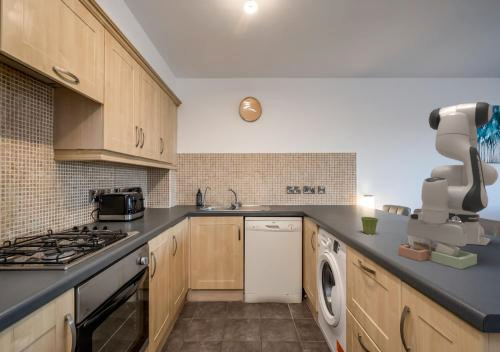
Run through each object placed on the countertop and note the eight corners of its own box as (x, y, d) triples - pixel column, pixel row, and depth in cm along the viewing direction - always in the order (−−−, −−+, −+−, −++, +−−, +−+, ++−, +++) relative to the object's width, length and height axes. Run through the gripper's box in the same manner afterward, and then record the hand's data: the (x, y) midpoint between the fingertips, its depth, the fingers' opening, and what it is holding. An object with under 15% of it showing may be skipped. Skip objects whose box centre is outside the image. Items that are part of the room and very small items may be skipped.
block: (440, 253, 97) (445, 241, 96) (454, 261, 93) (460, 248, 92) (433, 255, 95) (438, 243, 94) (448, 263, 91) (453, 250, 89)
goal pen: (447, 256, 99) (447, 247, 99) (477, 263, 90) (477, 254, 90) (431, 261, 93) (431, 252, 93) (460, 269, 85) (461, 259, 85)
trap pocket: (405, 253, 102) (405, 244, 102) (427, 259, 95) (427, 250, 95) (398, 254, 100) (398, 246, 100) (420, 261, 93) (420, 252, 93)
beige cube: (427, 247, 111) (427, 232, 111) (410, 246, 112) (410, 231, 112) (420, 243, 118) (420, 229, 118) (404, 242, 119) (404, 228, 119)
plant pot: (375, 231, 143) (376, 217, 143) (380, 235, 133) (380, 219, 133) (358, 230, 145) (359, 216, 145) (362, 234, 135) (362, 219, 135)
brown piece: (415, 248, 109) (415, 241, 109) (446, 256, 98) (446, 248, 98) (401, 251, 104) (401, 243, 104) (432, 260, 93) (432, 251, 93)
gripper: (470, 221, 89) (470, 258, 89) (413, 213, 108) (412, 244, 108) (462, 222, 87) (461, 260, 86) (404, 214, 105) (404, 246, 105)
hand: (434, 251), depth 97 cm, fingers closed
